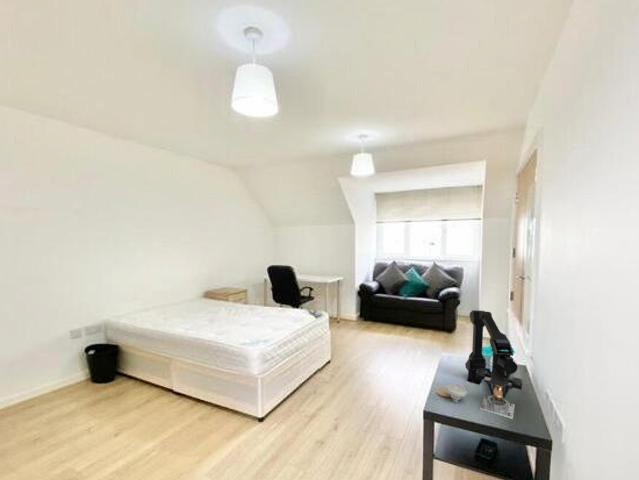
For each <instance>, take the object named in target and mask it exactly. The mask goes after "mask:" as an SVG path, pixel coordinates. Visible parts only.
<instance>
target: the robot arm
mask: <svg viewBox="0 0 639 480" xmlns="http://www.w3.org/2000/svg"><path fill="white" fill-rule="evenodd" d="M492 314H493V313H492V312H490V311H485V310H477V309H476V310H474V309H473V310H471V311H470V312H469V318H470V322H471V324H472V326H473V327H472V350H471V353H470V354H469V355H468V359H467V361H466V362H465V364H464V365H465V368H466V370H467V380H466V381H467V382H470V383H473V384H477V385H481V383H482V382H484V383H486V385H487V387H488V389H489V392H490V394H491V395H490V396H493V385H498V386H501V387H502V386H503V387H504V385H505V387H504V395H503V398H504V399H505V398H506V395H507V394H508V392H509V390H513V389H517V390H520V391H521V390H523V379H522V378H519V377H514V376H512V378H510V377H509V376H508V375H507V373H508V374H509V375H510V374H511V375H512V374H515V373H516V372H517V371H518V368H519V367H518V364H517V362H515V361H514V358H513V357H514V350H513V346H512V344H511V342H510V340H509V339H508V337H507V335H505V334H504V333H502V332H501V331H500V329H499V327H498V326H497V324H496V321H495V320H494V318H493V316H492ZM484 328H485V329H486V331H487V333H488V334H489V337H490V338H489V343H490V344H489V345H490V348H491V351H492V362H491V363H492V367H491V372H490V373H488V371H487V370H486V366H487V363H486V361H487V360H486V358H485V357H484V355H483V341H484V340H483V337H484V335H483V334H484ZM511 356H512V357H511Z"/></svg>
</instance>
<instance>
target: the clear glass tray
mask: <svg viewBox="0 0 639 480" xmlns="http://www.w3.org/2000/svg"><path fill="white" fill-rule="evenodd" d="M492 396H493V395H484V396H483V398H482V401H481V404H480V408H479V410H481V411H485V412H487V413H488V412H489V413H492V414H495V415H498V416H501V417H505V418H508V419H511V420H513V419H514V413H515V406H516V405H515V404H514V403H512V402H510V401H508V400H507V399H505V398H503V401H497V400H494V399H493V398H492Z"/></svg>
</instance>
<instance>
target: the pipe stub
mask: <svg viewBox="0 0 639 480" xmlns="http://www.w3.org/2000/svg"><path fill="white" fill-rule="evenodd" d="M504 390H505V387H504V385H503V386H502V387H501V386H498V385H493V395H491V396H492V398H493V399H494V400H497V401H503V395H504Z"/></svg>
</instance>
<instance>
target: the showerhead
mask: <svg viewBox="0 0 639 480" xmlns="http://www.w3.org/2000/svg"><path fill="white" fill-rule="evenodd" d="M445 391H446V392H447V393H448V394H450V397H451V399H452V400H453V402H454V403H459V401H460V400H461V399H462V397H465V396H467V393H468V391H467V388H465V387H464V386H463V385H460V384H455V383H449V384H446V385H445Z"/></svg>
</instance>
